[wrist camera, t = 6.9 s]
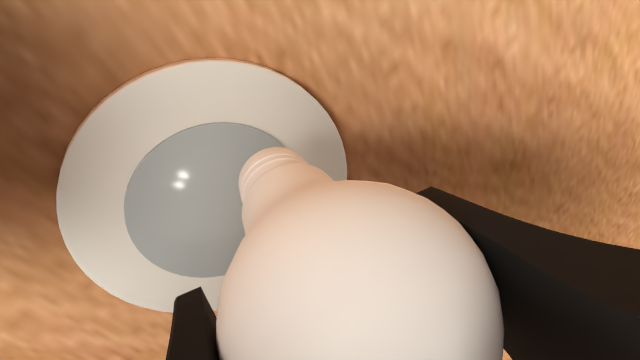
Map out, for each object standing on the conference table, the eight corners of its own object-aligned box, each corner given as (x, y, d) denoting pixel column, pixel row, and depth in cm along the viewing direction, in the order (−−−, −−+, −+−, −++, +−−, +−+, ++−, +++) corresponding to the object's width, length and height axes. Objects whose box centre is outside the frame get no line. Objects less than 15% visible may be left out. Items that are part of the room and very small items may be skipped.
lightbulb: (274, 265, 19) (410, 570, 10) (143, 190, 16) (162, 542, 7) (375, 153, 18) (623, 366, 9) (259, 49, 15) (465, 220, 6)
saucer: (179, 341, 26) (182, 356, 25) (-23, 175, 18) (-30, 189, 17) (375, 208, 26) (384, 218, 25) (263, -5, 19) (271, -1, 18)
